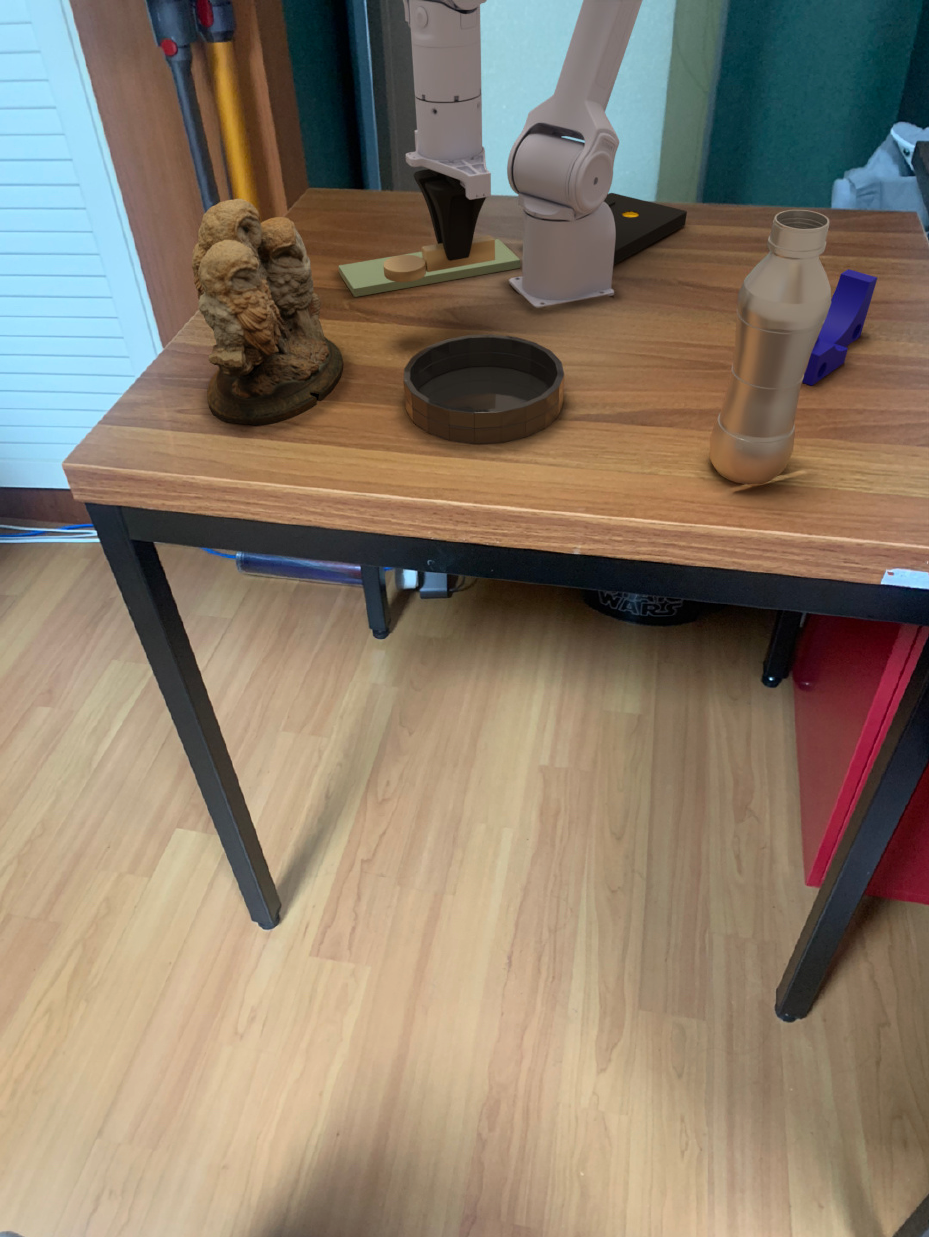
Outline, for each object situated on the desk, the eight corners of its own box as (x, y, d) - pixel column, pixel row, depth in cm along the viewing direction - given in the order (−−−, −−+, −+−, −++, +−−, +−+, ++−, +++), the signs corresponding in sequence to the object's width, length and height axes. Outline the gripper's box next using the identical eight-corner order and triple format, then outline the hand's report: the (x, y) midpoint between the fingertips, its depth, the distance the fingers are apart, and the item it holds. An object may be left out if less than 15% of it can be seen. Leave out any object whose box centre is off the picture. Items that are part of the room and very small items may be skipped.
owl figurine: (305, 442, 78) (270, 244, 66) (180, 431, 80) (124, 237, 68) (362, 346, 91) (341, 167, 79) (253, 339, 92) (217, 162, 81)
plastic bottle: (788, 455, 74) (854, 206, 60) (782, 502, 70) (851, 243, 56) (710, 443, 76) (757, 198, 62) (698, 488, 71) (746, 233, 57)
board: (498, 247, 109) (498, 238, 108) (520, 268, 104) (520, 259, 103) (339, 274, 104) (338, 265, 103) (354, 297, 99) (353, 288, 99)
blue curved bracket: (811, 385, 82) (827, 324, 78) (768, 370, 85) (782, 309, 81) (874, 341, 88) (892, 282, 84) (832, 327, 91) (848, 269, 87)
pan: (525, 357, 88) (526, 323, 86) (588, 428, 78) (590, 392, 76) (387, 385, 85) (384, 351, 82) (435, 462, 75) (433, 426, 73)
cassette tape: (609, 207, 117) (611, 190, 116) (685, 227, 112) (688, 209, 110) (524, 249, 108) (524, 231, 106) (602, 273, 102) (604, 254, 101)
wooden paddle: (391, 285, 83) (389, 264, 82) (379, 269, 86) (377, 248, 84) (500, 265, 86) (500, 244, 84) (485, 250, 88) (484, 229, 87)
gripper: (379, 80, 80) (392, 234, 89) (431, 122, 70) (440, 290, 79) (452, 71, 82) (457, 223, 91) (514, 110, 72) (512, 277, 81)
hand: (454, 254), depth 85 cm, fingers closed on wooden paddle, 1 cm apart
